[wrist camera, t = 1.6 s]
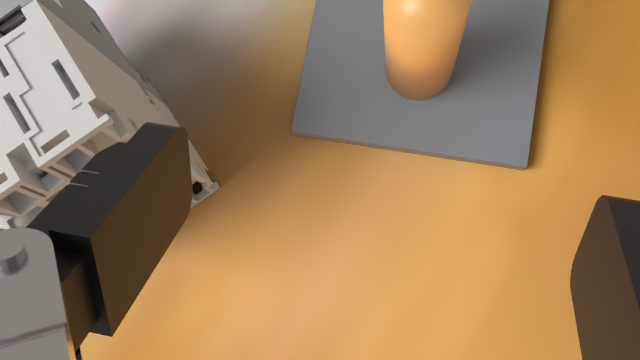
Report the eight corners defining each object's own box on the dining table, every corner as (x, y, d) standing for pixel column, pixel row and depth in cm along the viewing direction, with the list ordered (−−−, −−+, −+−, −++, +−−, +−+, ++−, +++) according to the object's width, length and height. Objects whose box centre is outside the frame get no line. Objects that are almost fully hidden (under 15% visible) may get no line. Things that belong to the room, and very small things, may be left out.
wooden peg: (391, 33, 38) (390, -57, 28) (457, 41, 37) (479, -48, 27) (380, 95, 37) (375, 25, 27) (447, 104, 36) (466, 36, 27)
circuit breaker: (109, 17, 41) (-48, -134, 27) (220, 188, 38) (112, 124, 24) (17, 80, 41) (-191, -36, 26) (121, 256, 38) (-49, 235, 23)
